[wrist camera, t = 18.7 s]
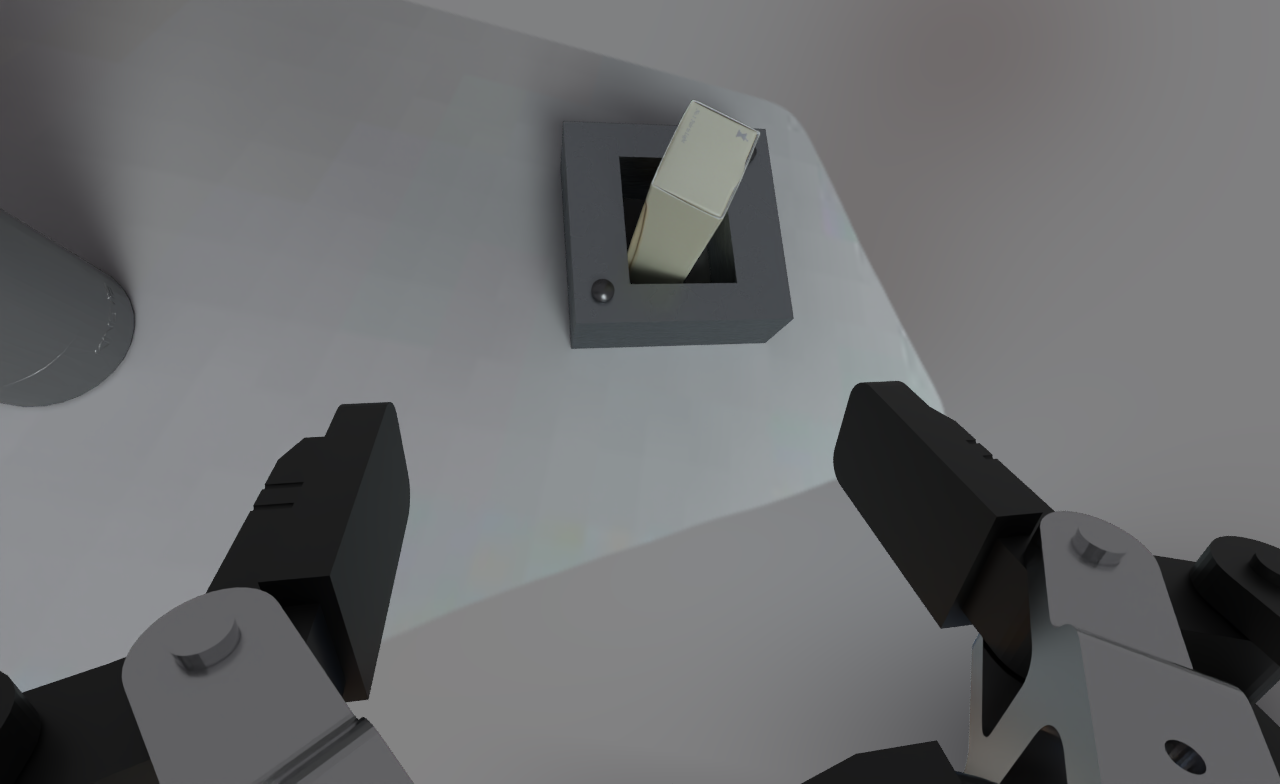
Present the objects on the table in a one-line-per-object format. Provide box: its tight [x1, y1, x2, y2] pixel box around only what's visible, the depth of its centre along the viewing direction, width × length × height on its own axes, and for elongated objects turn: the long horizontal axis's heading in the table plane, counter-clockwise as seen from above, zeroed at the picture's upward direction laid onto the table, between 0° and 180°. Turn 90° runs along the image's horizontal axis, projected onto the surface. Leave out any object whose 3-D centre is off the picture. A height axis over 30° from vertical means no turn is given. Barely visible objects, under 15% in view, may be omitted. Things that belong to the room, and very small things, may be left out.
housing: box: [561, 121, 794, 349], centre depth 41 cm, size 14×14×5 cm
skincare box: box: [627, 100, 760, 284], centre depth 37 cm, size 6×4×12 cm
